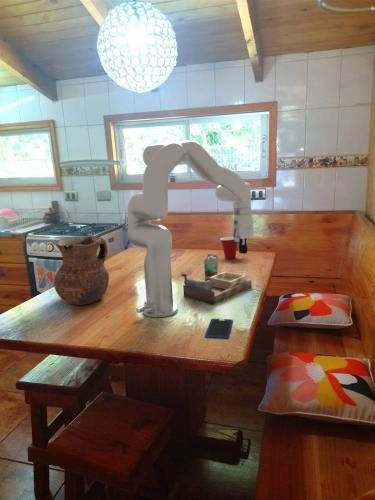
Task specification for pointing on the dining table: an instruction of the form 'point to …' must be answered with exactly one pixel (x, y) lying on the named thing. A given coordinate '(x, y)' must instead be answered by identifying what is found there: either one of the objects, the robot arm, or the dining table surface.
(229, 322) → the cell phone
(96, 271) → the jug
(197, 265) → the dining table surface
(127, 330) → the dining table surface
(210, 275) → the food container
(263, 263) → the dining table surface
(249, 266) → the dining table surface
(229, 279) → the crate
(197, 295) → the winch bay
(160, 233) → the robot arm
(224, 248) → the plastic cup
